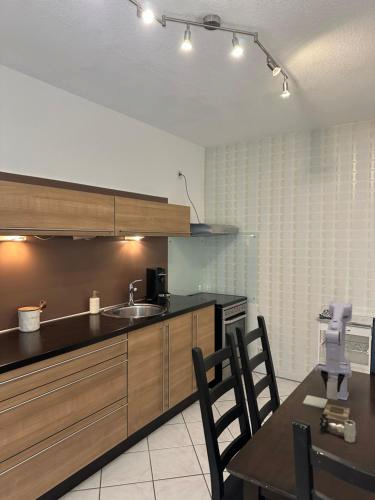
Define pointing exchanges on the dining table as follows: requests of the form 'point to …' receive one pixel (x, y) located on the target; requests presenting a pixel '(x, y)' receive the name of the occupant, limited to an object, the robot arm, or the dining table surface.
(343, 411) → the socket block
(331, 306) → the robot arm
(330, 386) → the steel peg
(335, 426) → the valve
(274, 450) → the dining table surface
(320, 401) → the sage pad
